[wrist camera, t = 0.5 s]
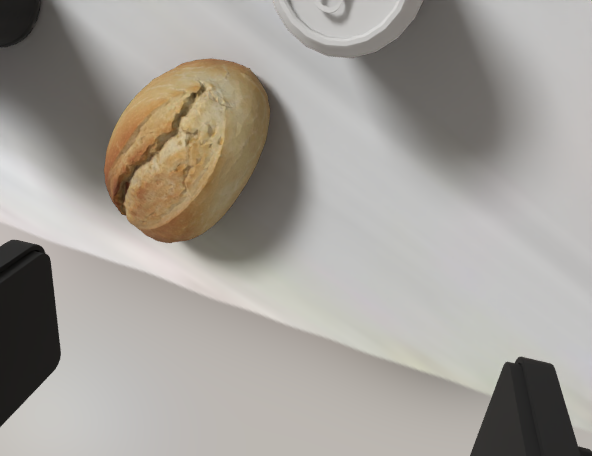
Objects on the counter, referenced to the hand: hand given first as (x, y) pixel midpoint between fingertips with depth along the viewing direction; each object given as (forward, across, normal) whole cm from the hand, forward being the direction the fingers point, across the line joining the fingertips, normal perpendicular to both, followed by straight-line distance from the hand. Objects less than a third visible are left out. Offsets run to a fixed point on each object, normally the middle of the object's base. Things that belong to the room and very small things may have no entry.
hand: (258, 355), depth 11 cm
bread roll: (+29, +13, +6) cm, 33 cm away
